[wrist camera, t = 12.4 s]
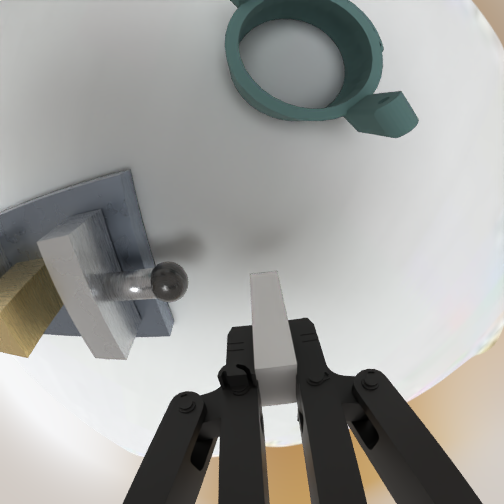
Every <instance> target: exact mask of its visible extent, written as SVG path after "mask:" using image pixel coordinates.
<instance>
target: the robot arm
mask: <svg viewBox="0 0 504 504" xmlns="http://www.w3.org/2000/svg"><path fill="white" fill-rule="evenodd" d="M250 288H251V308H252V325H249V326H239V327H232V329H231V330H230V332H229V334H228V337H227V357H226V365H225V366H223V367H222V368H221V370H220V371H219V373H218V379H219V382H220V385H221V386H220V387H219V388H218V389H217V390H215V391H213V392H210V393H207V394H204V395H199V394H197V393H195V392H189V391H186V392H182V393H179V394H178V395H176V396H175V397H174V398H173V399H172V401H171V402H170V404H169V406H168V408H167V411H166V413H165V415H164V417H163V419H162V421H161V423H160V425H159V427H158V429H157V431H156V434H155V436H154V438H153V440H152V442H151V444H150V446H149V448H148V450H147V453H146V455H145V457H144V459H143V461H142V463H141V465H140V468H139V470H138V472H137V474H136V476H135V478H134V481H133V482H132V485H131V487H130V489H129V491H128V493H127V495H126V498H125V500H124V502H123V504H195V502H196V499H197V496H198V494H199V491H200V488H201V485H202V482H203V479H204V476H205V474H206V471H207V468H208V465H209V462H210V459H211V456H212V453H213V450H214V447H215V444H216V441H217V438H218V437H219V436H220V453H219V499H218V502H219V503H218V504H270V503H269V490H268V477H267V463H266V450H265V436H264V423H263V415H262V406H271V405H280V404H288V403H295V402H297V405H298V421H299V424H300V431H301V437H302V443H303V450H304V456H305V463H306V470H307V477H308V484H309V491H310V497H311V504H367V502H366V497H365V493H364V489H363V484H362V481H361V476H360V472H359V468H358V464H357V460H356V456H355V452H354V448H353V444H352V440H351V437H350V433H349V429H348V426H349V427H350V429H351V430H352V432H353V434H354V435H355V437H356V439H357V440H358V442H359V444H360V445H361V447H362V448H363V450H364V452H365V453H366V455H367V457H368V458H369V460H370V462H371V463H372V465H373V466H374V468H375V470H376V471H377V473H378V474H379V476H380V478H381V479H382V481H383V482H384V484H385V486H386V487H387V489H388V490H389V492H390V494H391V495H392V497H393V498H394V500H395V502H396V503H397V504H482V502H481V501H480V499H479V498H478V496H477V495H476V494H475V493H474V491H473V489H472V488H471V487H470V485H469V484H468V483H467V481H466V480H465V478H464V477H463V476H462V474H461V473H460V472H459V470H458V469H457V468H456V466H455V465H454V464H453V462H452V461H451V459H450V458H449V457H448V455H447V454H446V453H445V451H444V450H443V449H442V447H441V446H440V445H439V443H437V441H436V440H435V438H434V437H433V436H432V434H431V433H430V432H429V430H428V429H427V428H426V427H425V425H424V424H423V423H422V421H421V420H420V419H419V418H418V416H417V415H416V414H415V413H414V411H413V410H412V409H411V407H410V406H409V405H408V404H407V402H406V401H405V400H404V399H403V397H402V396H401V395H400V394H399V392H398V391H397V390H396V389H395V387H394V386H393V385H392V384H391V382H390V381H389V380H388V379H387V377H386V376H385V375H384V374H383V373H382V372H380V371H378V370H375V369H366V370H362V371H361V372H359V373H358V374H357V375H356V376H343V375H338V374H336V373H334V372H332V371H331V370H330V369H329V368H328V367H327V365H326V362H325V359H324V356H323V352H322V349H321V346H320V342H319V340H318V336H317V334H316V330H315V327H314V324H313V323H312V322H311V321H310V320H309V319H308V318H302V319H294V320H288V318H287V313H286V309H285V304H284V299H283V295H282V290H281V286H280V281H279V277H278V272H277V271H271V272H263V273H254V274H250ZM347 424H348V425H347Z"/></svg>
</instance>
